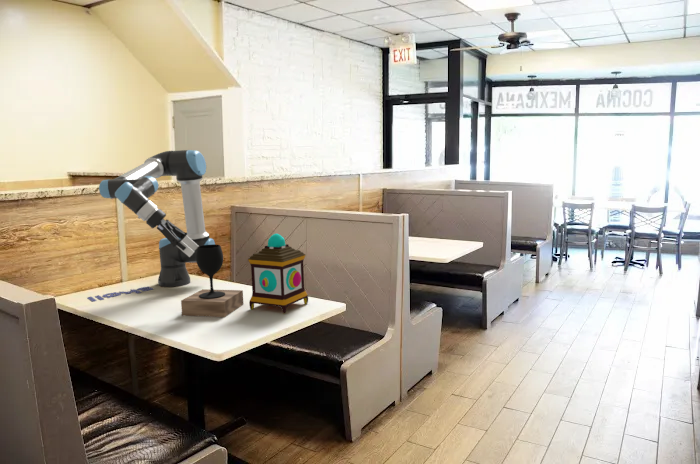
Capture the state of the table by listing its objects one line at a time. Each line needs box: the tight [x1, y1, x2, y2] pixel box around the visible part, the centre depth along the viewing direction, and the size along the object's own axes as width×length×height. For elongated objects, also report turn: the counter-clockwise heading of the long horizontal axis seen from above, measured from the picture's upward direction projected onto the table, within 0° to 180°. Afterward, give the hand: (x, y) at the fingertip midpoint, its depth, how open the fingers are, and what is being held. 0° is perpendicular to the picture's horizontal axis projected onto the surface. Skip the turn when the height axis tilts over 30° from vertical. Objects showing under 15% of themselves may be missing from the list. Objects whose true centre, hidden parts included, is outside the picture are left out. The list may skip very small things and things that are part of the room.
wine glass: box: [196, 244, 225, 299], centre depth 218 cm, size 10×10×20 cm
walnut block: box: [180, 288, 244, 318], centre depth 220 cm, size 18×18×6 cm
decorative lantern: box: [247, 233, 309, 315], centre depth 221 cm, size 20×20×30 cm
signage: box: [86, 286, 154, 303], centre depth 251 cm, size 28×1×10 cm
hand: (194, 251), depth 216 cm, fingers open, 13 cm apart
